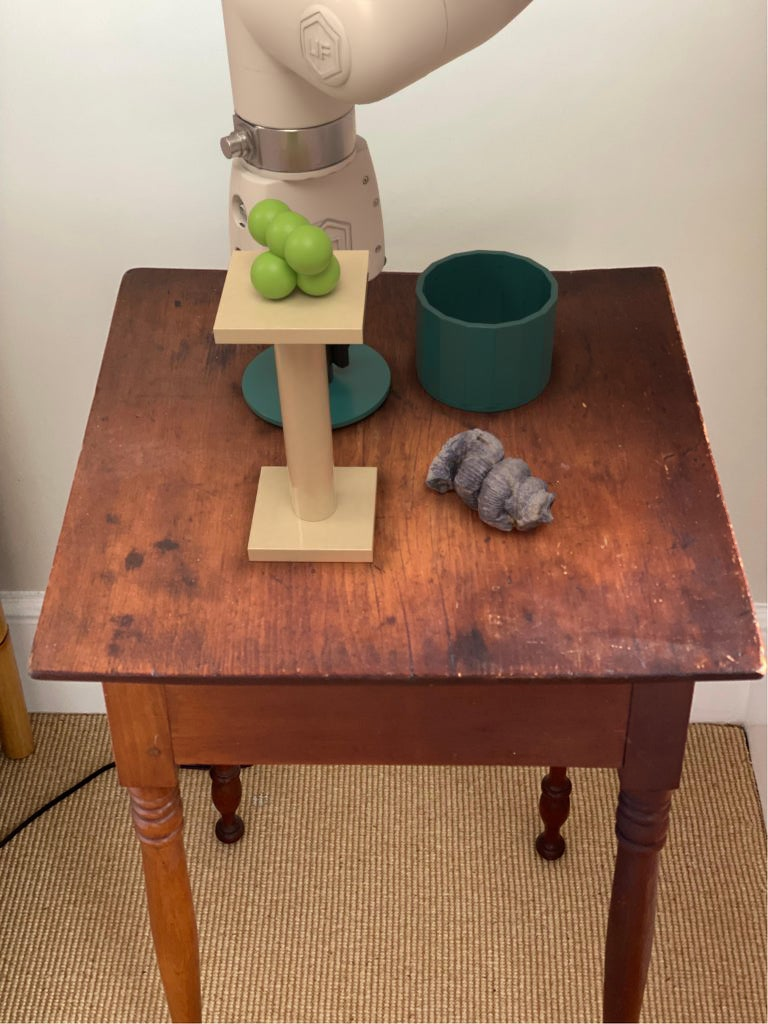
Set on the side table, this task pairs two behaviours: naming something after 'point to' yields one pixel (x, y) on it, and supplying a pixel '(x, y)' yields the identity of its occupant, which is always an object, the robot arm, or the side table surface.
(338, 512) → the pedestal
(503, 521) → the seashell
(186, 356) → the side table surface
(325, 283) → the grapes
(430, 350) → the pot
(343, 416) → the lid
